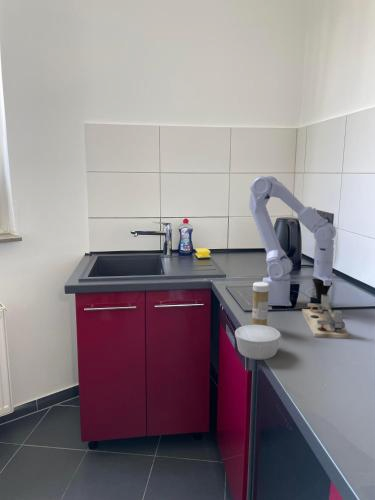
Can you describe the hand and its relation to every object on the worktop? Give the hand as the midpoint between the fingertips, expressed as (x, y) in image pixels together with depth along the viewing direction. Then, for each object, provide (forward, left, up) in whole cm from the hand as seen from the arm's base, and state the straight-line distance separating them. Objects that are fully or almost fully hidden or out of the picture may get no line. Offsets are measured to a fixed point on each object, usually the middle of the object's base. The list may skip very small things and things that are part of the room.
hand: (320, 300), depth 130 cm
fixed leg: (-2, -20, -2) cm, 20 cm away
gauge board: (-2, -13, -3) cm, 14 cm away
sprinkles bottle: (-21, -18, -3) cm, 28 cm away
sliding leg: (-2, -5, -2) cm, 6 cm away
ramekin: (-23, -34, -3) cm, 41 cm away
